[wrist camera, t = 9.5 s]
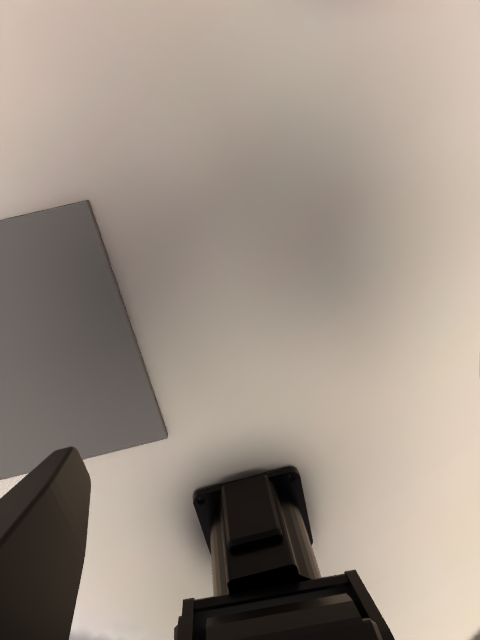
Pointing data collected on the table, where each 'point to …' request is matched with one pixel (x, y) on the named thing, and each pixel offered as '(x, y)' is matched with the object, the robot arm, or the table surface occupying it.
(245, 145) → the table surface
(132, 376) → the mat
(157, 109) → the table surface
